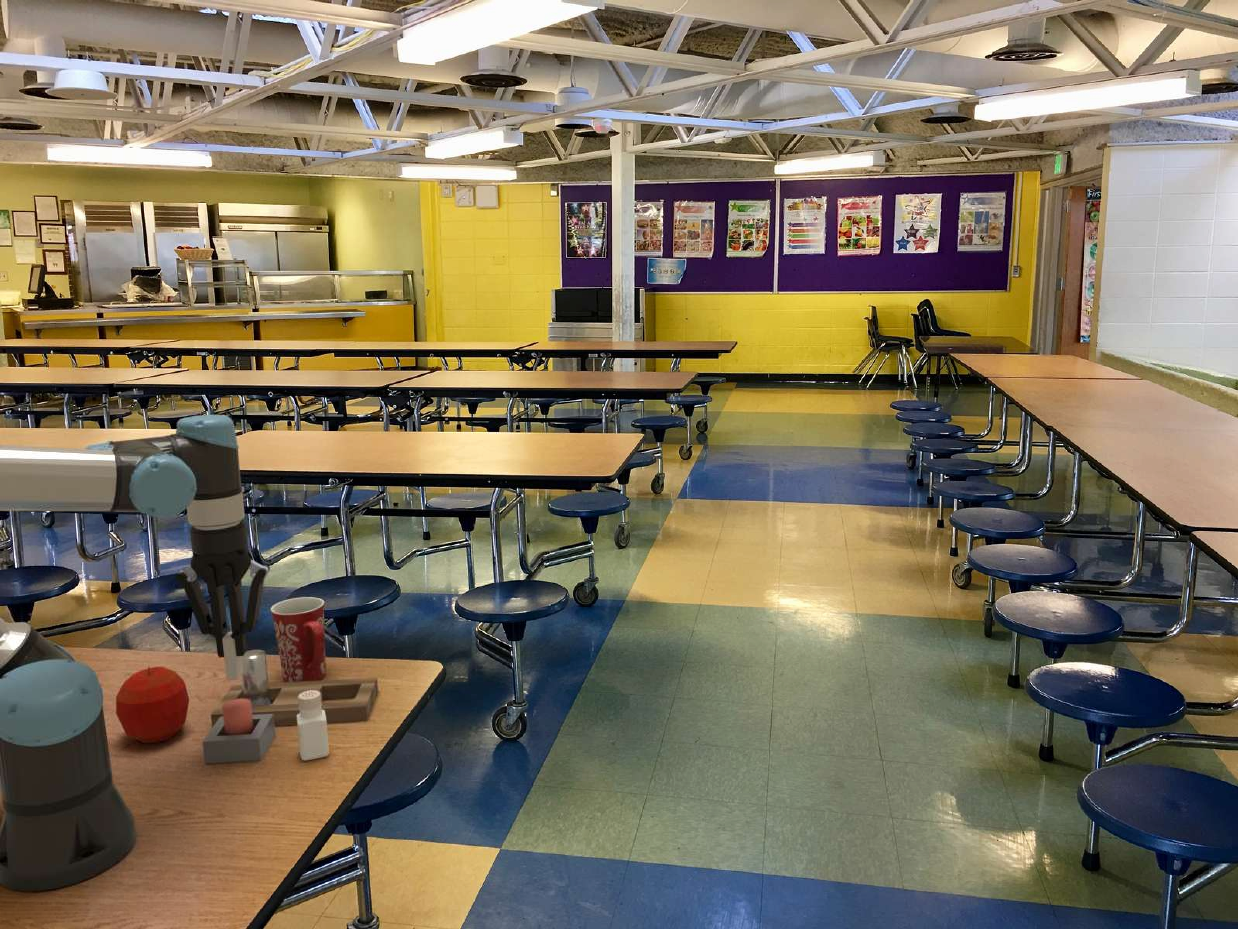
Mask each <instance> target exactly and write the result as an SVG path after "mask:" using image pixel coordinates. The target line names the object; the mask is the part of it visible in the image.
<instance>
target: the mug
mask: <svg viewBox="0 0 1238 929" xmlns="http://www.w3.org/2000/svg"><path fill="white" fill-rule="evenodd" d="M324 607H325V600H324V599H322V598H319V597H312V596H309V597H308V596H303V597H295V598H290V599H289V598H288V599H285V600H282V601H279V602H276V603H275V604H273V605H272V606H271V607H270V612H271V615H272V620H273V625H274V631H275V637H276V642H277V650H278V654H279V659H280V660H279V661H280V667H281V674H282V680H283V683H284V682H302V681H321V680H322V679H323V678H325V677H326V675H327V674H326V673H327V665H326V664H327V662H326V639H325V637H326V636H325V612H324V611H325V610H324V609H325V608H324Z"/></svg>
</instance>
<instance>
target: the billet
mask: <svg viewBox="0 0 1238 929" xmlns="http://www.w3.org/2000/svg"><path fill="white" fill-rule="evenodd" d="M241 659H242V668H243V673H242V674H241V675H240V677H241V678H240V679H241V685H242V689H243V699H248V700H250V701H251V706H269V705H272V703H270V694H269V684H268V683H269V676H268V675H269V674H268V665H267V654H266V651H265V650H262V649H252V650H246V653H245V654H244V655H243V656H241Z"/></svg>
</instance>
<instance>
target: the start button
mask: <svg viewBox="0 0 1238 929" xmlns="http://www.w3.org/2000/svg"><path fill="white" fill-rule="evenodd" d="M222 710H223V719H224V728H225V736H229V735H246V734H252V732H253V731H254V727H253V718H252V708H251V701H250V700H248V699H234V700H231V701H228V702H226V703H225V704H223V706H222Z"/></svg>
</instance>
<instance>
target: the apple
mask: <svg viewBox="0 0 1238 929" xmlns="http://www.w3.org/2000/svg"><path fill="white" fill-rule="evenodd" d="M187 690H188V689H187V686H186V682H185V681H184V679H183V678H182V677H181V676H180V675H179V674H178V673H177V672H176V671H175V670H172V669H169V668H167V667H164V666H154V667H150V666H148V668H144V669H141V670H139V671H136V672H135V673H133V674H131V676H130V677H128V678H127V679H126V680H124V682H123V684H122V685H121V687H120V689H118V692H117V694H116V696H115V714H116V717H117V718H118V721H119V723H120V725H121V726H122V728H123V732H124V733H125V736H128V737H131V738H133V739H136V740H138V741H141V742H142V743H147V744H148V743H149V744H150V743H157V742H158V743H159V742H161V741H166V740H168V739H170V738H172V737H173V736H174V735H175V734H176V733H177V732H178V731H179V730H180V729H181V728H182V727H183V726H184V725H185V724H186V720H187V718H188V716H187V715H188V710H189V703H190V698H189V694H188V691H187Z"/></svg>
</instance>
